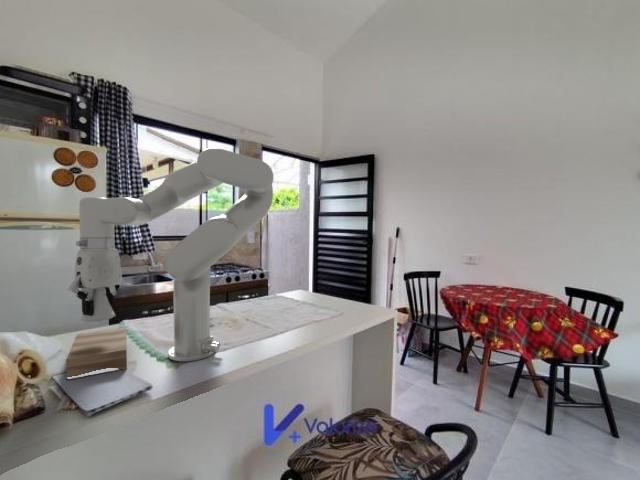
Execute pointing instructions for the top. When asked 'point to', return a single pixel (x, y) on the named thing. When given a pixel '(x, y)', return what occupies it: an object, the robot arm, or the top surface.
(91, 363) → the walnut riser
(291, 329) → the top surface
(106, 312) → the flask
